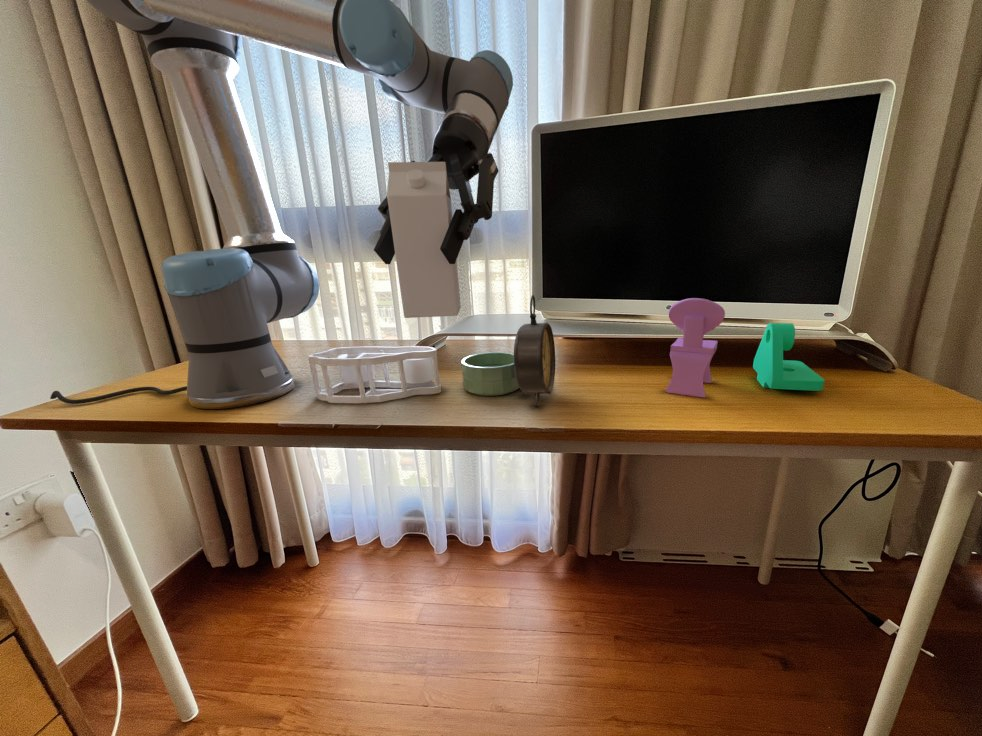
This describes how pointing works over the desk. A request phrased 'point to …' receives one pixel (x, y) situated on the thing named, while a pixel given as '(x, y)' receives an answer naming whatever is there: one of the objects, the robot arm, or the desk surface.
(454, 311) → the milk carton
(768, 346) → the camera mount
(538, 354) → the alarm clock
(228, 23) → the robot arm
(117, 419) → the desk surface
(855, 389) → the desk surface
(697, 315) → the toy chair
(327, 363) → the white wireframe cage
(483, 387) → the bowl
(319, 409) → the desk surface
